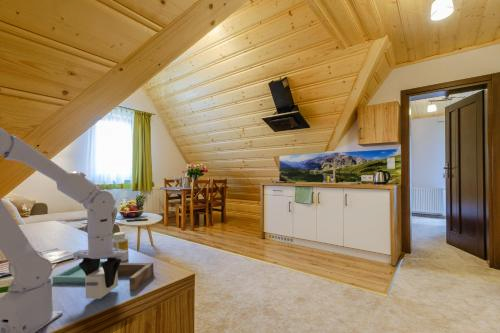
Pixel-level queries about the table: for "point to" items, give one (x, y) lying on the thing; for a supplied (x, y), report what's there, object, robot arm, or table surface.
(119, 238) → the supplement bottle
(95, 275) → the cream rectangular block
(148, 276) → the bay
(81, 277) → the tray
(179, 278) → the table surface
